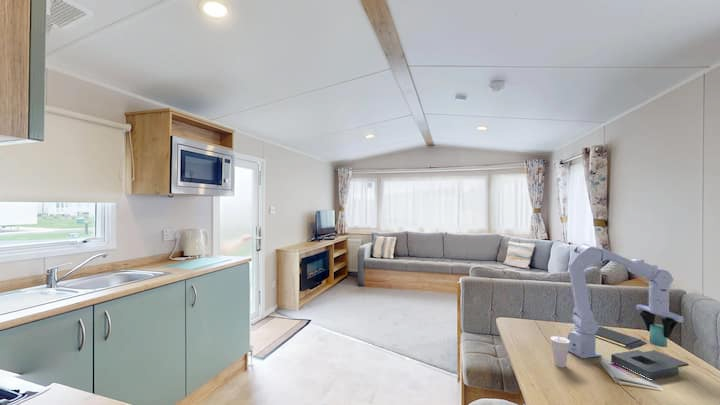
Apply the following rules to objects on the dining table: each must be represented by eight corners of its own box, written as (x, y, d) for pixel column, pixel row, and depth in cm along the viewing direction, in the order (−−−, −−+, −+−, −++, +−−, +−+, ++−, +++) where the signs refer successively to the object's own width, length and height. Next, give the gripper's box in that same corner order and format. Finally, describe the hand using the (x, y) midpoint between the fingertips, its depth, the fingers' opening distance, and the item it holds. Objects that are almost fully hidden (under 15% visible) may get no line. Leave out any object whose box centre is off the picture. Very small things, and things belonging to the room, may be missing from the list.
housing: (649, 380, 110) (649, 371, 110) (611, 362, 122) (611, 354, 122) (678, 374, 114) (678, 366, 113) (637, 357, 126) (638, 349, 126)
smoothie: (552, 358, 125) (553, 323, 125) (571, 364, 120) (572, 328, 120) (548, 364, 120) (548, 328, 120) (567, 371, 116) (567, 333, 116)
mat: (667, 368, 118) (667, 367, 118) (635, 354, 128) (635, 353, 128) (688, 364, 121) (688, 363, 121) (654, 351, 131) (654, 350, 131)
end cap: (661, 347, 120) (661, 329, 120) (646, 342, 125) (646, 324, 125) (670, 346, 122) (670, 328, 121) (655, 340, 126) (655, 323, 126)
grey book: (648, 340, 138) (628, 347, 132) (648, 344, 138) (628, 351, 132) (598, 324, 157) (579, 329, 151) (598, 328, 157) (579, 333, 151)
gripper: (689, 304, 117) (689, 340, 117) (645, 293, 131) (645, 325, 131) (675, 305, 115) (675, 343, 115) (632, 294, 129) (632, 327, 129)
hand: (658, 334), depth 123 cm, fingers closed on end cap, 5 cm apart
